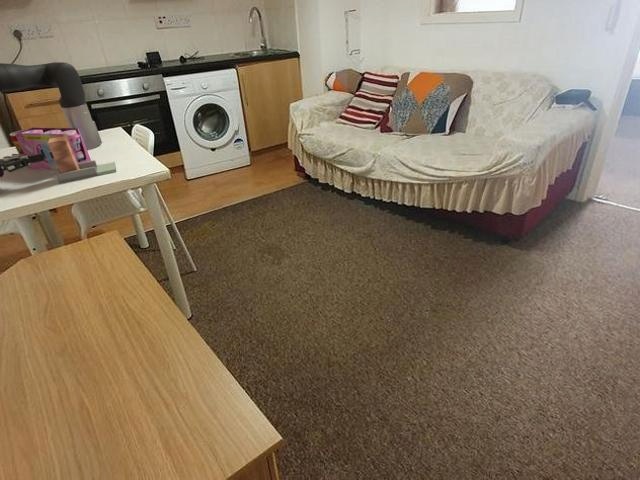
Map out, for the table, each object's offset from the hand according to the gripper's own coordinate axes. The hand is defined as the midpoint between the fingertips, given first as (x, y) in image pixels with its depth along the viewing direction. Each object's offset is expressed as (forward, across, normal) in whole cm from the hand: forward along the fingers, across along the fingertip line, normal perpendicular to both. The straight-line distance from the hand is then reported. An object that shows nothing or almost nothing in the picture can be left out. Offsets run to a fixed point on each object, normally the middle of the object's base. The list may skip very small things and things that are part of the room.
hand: (43, 156), depth 129 cm
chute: (+11, 0, +8) cm, 14 cm away
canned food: (-8, +28, +9) cm, 31 cm away
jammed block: (+6, 0, +7) cm, 9 cm away
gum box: (+1, +16, +9) cm, 18 cm away
